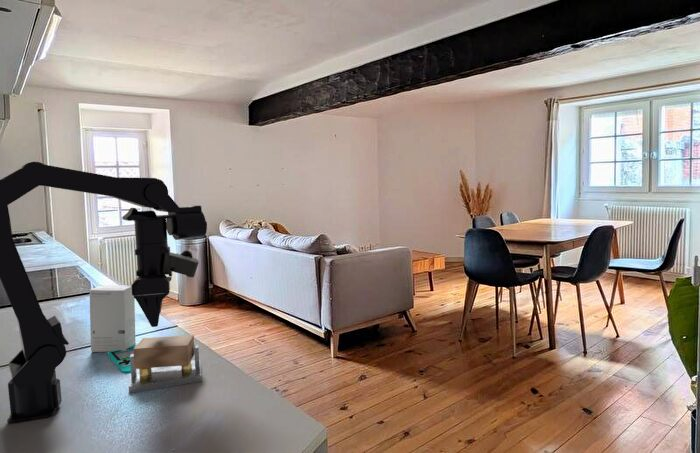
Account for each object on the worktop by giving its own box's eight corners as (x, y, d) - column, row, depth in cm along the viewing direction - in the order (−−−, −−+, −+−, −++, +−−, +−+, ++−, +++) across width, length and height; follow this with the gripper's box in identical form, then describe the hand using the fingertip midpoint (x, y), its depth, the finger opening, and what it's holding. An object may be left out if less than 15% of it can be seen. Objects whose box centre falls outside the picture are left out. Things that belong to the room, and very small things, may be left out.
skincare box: (90, 353, 106) (85, 290, 105) (103, 343, 112) (99, 284, 111) (127, 351, 107) (123, 289, 105) (138, 342, 113) (134, 283, 111)
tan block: (134, 368, 88) (133, 348, 88) (144, 357, 94) (142, 338, 94) (188, 365, 89) (187, 345, 89) (194, 353, 95) (193, 335, 95)
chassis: (128, 393, 86) (126, 364, 85) (133, 374, 94) (131, 347, 94) (201, 381, 90) (200, 353, 90) (199, 364, 99) (198, 339, 98)
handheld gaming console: (123, 370, 94) (106, 350, 106) (123, 375, 94) (106, 355, 106) (164, 360, 100) (144, 342, 111) (165, 364, 100) (145, 346, 111)
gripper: (195, 245, 84) (200, 328, 85) (194, 235, 101) (197, 304, 103) (128, 249, 80) (134, 336, 82) (139, 237, 98) (143, 309, 99)
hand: (156, 319), depth 91 cm, fingers open, 9 cm apart
